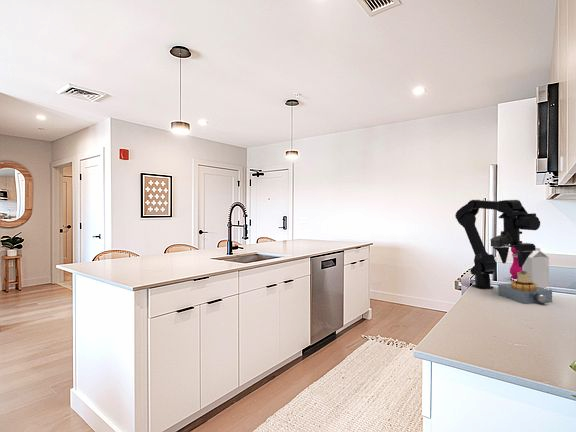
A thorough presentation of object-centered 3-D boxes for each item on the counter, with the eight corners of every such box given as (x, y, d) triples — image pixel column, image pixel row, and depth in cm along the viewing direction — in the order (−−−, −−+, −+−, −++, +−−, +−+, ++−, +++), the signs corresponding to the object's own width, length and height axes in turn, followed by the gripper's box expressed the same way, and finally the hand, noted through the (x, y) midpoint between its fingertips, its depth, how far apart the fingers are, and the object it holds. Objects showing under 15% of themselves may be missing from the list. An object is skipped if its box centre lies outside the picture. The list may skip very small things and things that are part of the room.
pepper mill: (524, 279, 169) (523, 240, 168) (529, 282, 162) (528, 242, 161) (507, 278, 171) (507, 240, 170) (512, 281, 164) (511, 242, 164)
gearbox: (498, 294, 143) (498, 280, 143) (523, 292, 144) (523, 278, 144) (530, 306, 126) (530, 289, 126) (559, 304, 127) (558, 288, 127)
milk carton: (538, 286, 153) (538, 246, 153) (549, 290, 146) (548, 248, 146) (522, 287, 154) (521, 246, 153) (532, 290, 147) (531, 248, 146)
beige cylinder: (514, 286, 139) (514, 270, 138) (524, 285, 139) (524, 269, 139) (523, 288, 134) (522, 272, 134) (533, 288, 134) (532, 271, 134)
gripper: (479, 228, 149) (479, 262, 150) (510, 231, 131) (511, 270, 131) (502, 227, 150) (502, 261, 151) (536, 230, 132) (537, 268, 132)
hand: (512, 265), depth 141 cm, fingers open, 9 cm apart
